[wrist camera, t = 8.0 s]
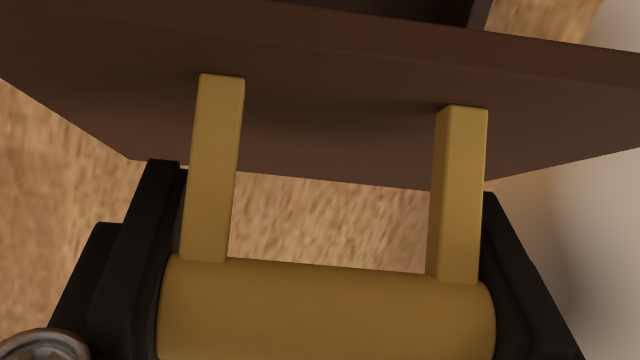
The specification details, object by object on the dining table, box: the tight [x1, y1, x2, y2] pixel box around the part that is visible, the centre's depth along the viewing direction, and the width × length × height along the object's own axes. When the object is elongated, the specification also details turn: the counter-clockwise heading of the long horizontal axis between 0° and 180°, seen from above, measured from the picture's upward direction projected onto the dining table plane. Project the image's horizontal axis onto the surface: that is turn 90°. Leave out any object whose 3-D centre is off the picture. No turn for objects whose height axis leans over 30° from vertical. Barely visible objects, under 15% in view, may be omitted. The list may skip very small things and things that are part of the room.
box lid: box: [0, 0, 640, 360], centre depth 15 cm, size 15×12×5 cm
